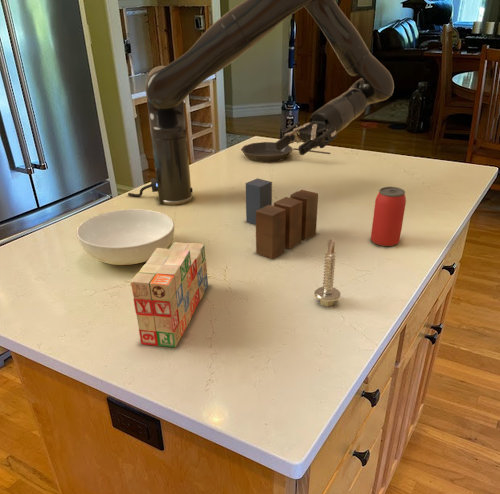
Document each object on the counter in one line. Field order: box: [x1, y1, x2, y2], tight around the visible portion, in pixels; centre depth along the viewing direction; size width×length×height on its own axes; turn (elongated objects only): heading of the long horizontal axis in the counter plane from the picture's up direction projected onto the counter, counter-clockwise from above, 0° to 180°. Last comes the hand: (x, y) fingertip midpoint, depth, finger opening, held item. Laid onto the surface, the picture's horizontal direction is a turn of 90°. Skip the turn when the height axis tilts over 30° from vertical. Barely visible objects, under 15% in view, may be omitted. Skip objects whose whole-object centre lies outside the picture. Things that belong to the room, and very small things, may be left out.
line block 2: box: [273, 196, 303, 250], centre depth 116 cm, size 5×5×10 cm
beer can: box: [370, 186, 407, 247], centre depth 116 cm, size 7×7×12 cm
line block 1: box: [255, 204, 286, 260], centre depth 112 cm, size 5×5×10 cm
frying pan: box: [240, 141, 331, 163], centre depth 174 cm, size 18×32×4 cm, turn 62°
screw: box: [313, 239, 342, 307], centre depth 93 cm, size 13×5×5 cm
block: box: [245, 177, 273, 226], centre depth 127 cm, size 5×5×10 cm
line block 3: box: [289, 189, 319, 241], centre depth 120 cm, size 5×5×10 cm
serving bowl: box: [76, 208, 175, 266], centre depth 113 cm, size 21×21×7 cm
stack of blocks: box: [130, 241, 209, 348], centre depth 91 cm, size 21×6×12 cm, turn 169°
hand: (288, 149), depth 126 cm, fingers open, 8 cm apart
